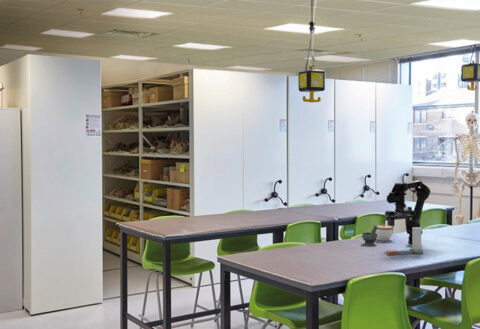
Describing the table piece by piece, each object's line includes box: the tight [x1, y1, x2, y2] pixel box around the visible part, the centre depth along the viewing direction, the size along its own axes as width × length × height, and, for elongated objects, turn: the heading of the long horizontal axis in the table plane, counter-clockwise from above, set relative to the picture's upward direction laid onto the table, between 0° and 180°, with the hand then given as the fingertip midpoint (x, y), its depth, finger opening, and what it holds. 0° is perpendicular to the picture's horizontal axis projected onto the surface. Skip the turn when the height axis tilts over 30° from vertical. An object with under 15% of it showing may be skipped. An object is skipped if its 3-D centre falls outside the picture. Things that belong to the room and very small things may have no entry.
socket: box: [411, 226, 422, 250], centre depth 361 cm, size 5×5×13 cm
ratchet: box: [386, 248, 424, 256], centre depth 359 cm, size 23×7×5 cm, turn 104°
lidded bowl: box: [375, 223, 394, 241], centre depth 411 cm, size 13×13×11 cm
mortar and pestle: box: [361, 225, 378, 246], centre depth 395 cm, size 11×9×12 cm
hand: (400, 226), depth 385 cm, fingers open, 9 cm apart
